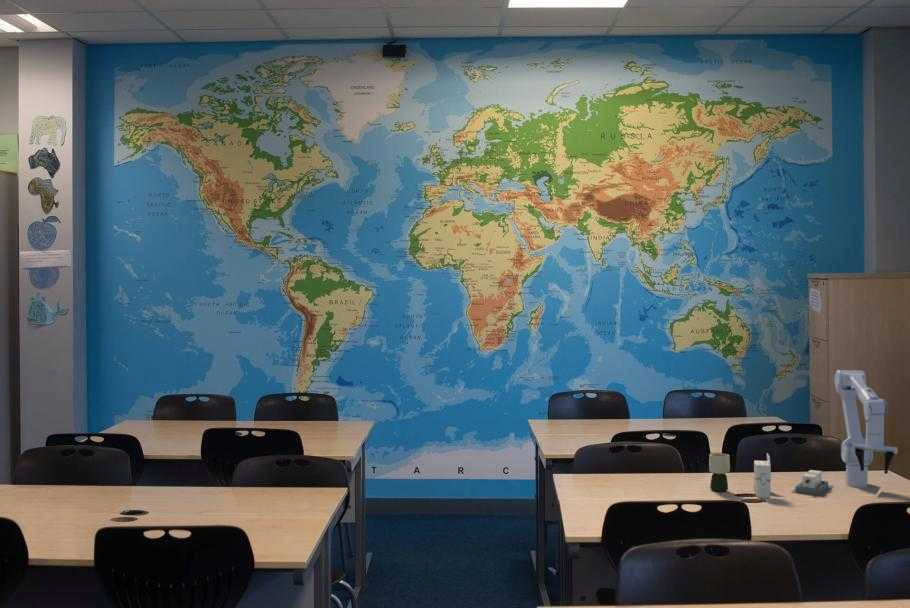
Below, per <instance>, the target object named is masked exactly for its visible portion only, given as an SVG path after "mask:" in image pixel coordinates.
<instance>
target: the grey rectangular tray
mask: <svg viewBox="0 0 910 608" xmlns="http://www.w3.org/2000/svg"><path fill="white" fill-rule="evenodd" d="M834 487H835V485H829V481H827V480H822V485H819V484H817V489H816V488H808V487H802V481H800V483H798V484H796V486H795V488H794V489H793V490H792V491H791V492H790V493H791V494H799V495H807V496H816V497H822V498H823V497H824V496H826V494H828V493H829V492H830V491H831V490H832V489H833V488H834Z"/></svg>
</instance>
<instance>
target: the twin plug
mask: <svg viewBox="0 0 910 608" xmlns="http://www.w3.org/2000/svg"><path fill="white" fill-rule="evenodd" d="M806 474H815V475H817V484H819V485H822V481H823V480H822V479H823V478H822V477H823V476H822V475H823V472H822V470H814V469H810V470H808V471H807V472H806Z"/></svg>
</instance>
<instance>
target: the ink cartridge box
mask: <svg viewBox="0 0 910 608" xmlns="http://www.w3.org/2000/svg"><path fill="white" fill-rule="evenodd" d="M766 459H767V460H754V461H753V470H754V471H753V491H754V492H755V493H754V495H755V497H756V498H758V499H759V498H760V499H771V493H772V492H771V490H772V489H771V482H772V481H771V479H772V478H771V477H772V476H771V474H772V473H771V471H772V470H771V467H772V466H771V465H772V464H771V457H770V455H769V453H768V452H767V453H766Z"/></svg>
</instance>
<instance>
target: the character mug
mask: <svg viewBox="0 0 910 608" xmlns="http://www.w3.org/2000/svg"><path fill="white" fill-rule="evenodd" d="M708 456H709V459H708V467H709V469H708V470H709V472H710V473H711V474H712V475H711V478H710V486H709V487H710V489H711V490H712V491H720V492H723V491H728V490H729V484H728V482H729V481H728V476H727V474H728V473H730V472H731V471H730V470H731V463H730V462H731V461H730V458H731V457H730V454H726V453H720V452H719V453H709V455H708Z"/></svg>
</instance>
